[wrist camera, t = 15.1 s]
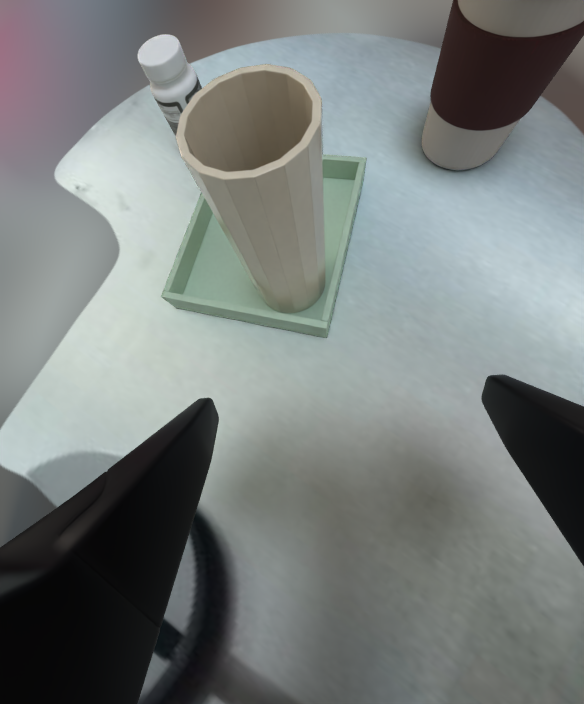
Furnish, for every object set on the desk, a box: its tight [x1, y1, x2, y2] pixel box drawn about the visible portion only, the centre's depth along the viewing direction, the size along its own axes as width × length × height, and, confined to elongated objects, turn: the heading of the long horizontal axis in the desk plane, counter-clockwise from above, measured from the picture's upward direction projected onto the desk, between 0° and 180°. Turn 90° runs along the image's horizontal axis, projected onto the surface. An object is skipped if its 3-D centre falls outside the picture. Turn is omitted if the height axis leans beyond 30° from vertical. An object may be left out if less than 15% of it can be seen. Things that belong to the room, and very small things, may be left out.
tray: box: [161, 155, 367, 338], centre depth 26 cm, size 17×15×2 cm
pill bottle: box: [138, 35, 202, 136], centre depth 28 cm, size 5×5×8 cm
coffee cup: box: [422, 0, 584, 170], centre depth 20 cm, size 10×10×15 cm
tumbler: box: [176, 64, 326, 313], centre depth 18 cm, size 6×6×14 cm
